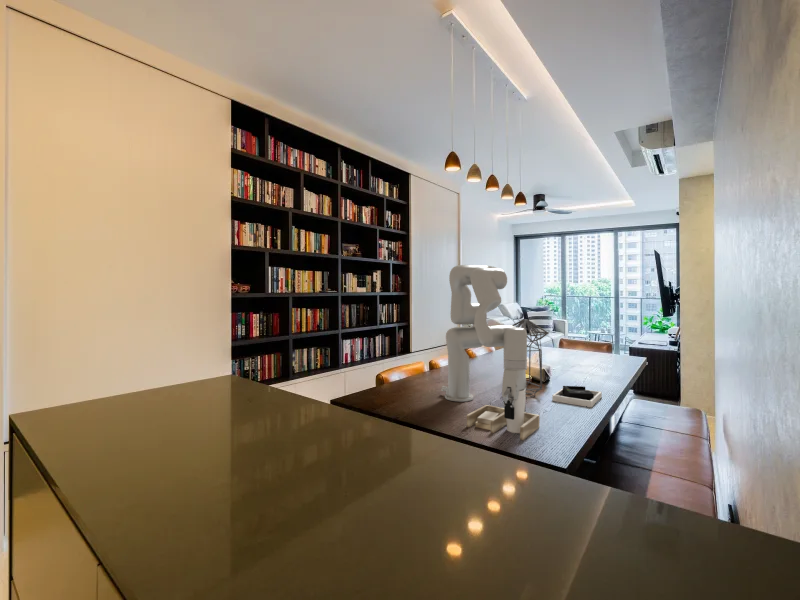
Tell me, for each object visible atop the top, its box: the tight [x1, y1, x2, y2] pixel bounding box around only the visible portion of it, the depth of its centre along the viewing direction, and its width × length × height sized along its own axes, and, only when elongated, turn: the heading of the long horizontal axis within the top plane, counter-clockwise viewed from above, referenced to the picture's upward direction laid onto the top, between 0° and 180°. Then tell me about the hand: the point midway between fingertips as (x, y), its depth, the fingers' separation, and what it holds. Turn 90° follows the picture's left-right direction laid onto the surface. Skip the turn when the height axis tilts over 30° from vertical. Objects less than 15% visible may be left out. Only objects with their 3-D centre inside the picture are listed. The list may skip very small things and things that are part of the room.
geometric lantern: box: [511, 318, 550, 399], centre depth 176 cm, size 16×16×35 cm
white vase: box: [506, 389, 527, 434], centre depth 132 cm, size 7×7×15 cm
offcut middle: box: [475, 422, 491, 431], centre depth 138 cm, size 6×10×2 cm, turn 144°
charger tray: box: [551, 387, 603, 408], centre depth 171 cm, size 16×19×2 cm
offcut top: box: [477, 411, 499, 425], centre depth 138 cm, size 5×9×2 cm, turn 149°
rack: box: [466, 404, 540, 441], centre depth 135 cm, size 20×15×5 cm
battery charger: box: [562, 385, 594, 401], centre depth 171 cm, size 13×10×4 cm
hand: (515, 414), depth 132 cm, fingers open, 9 cm apart
